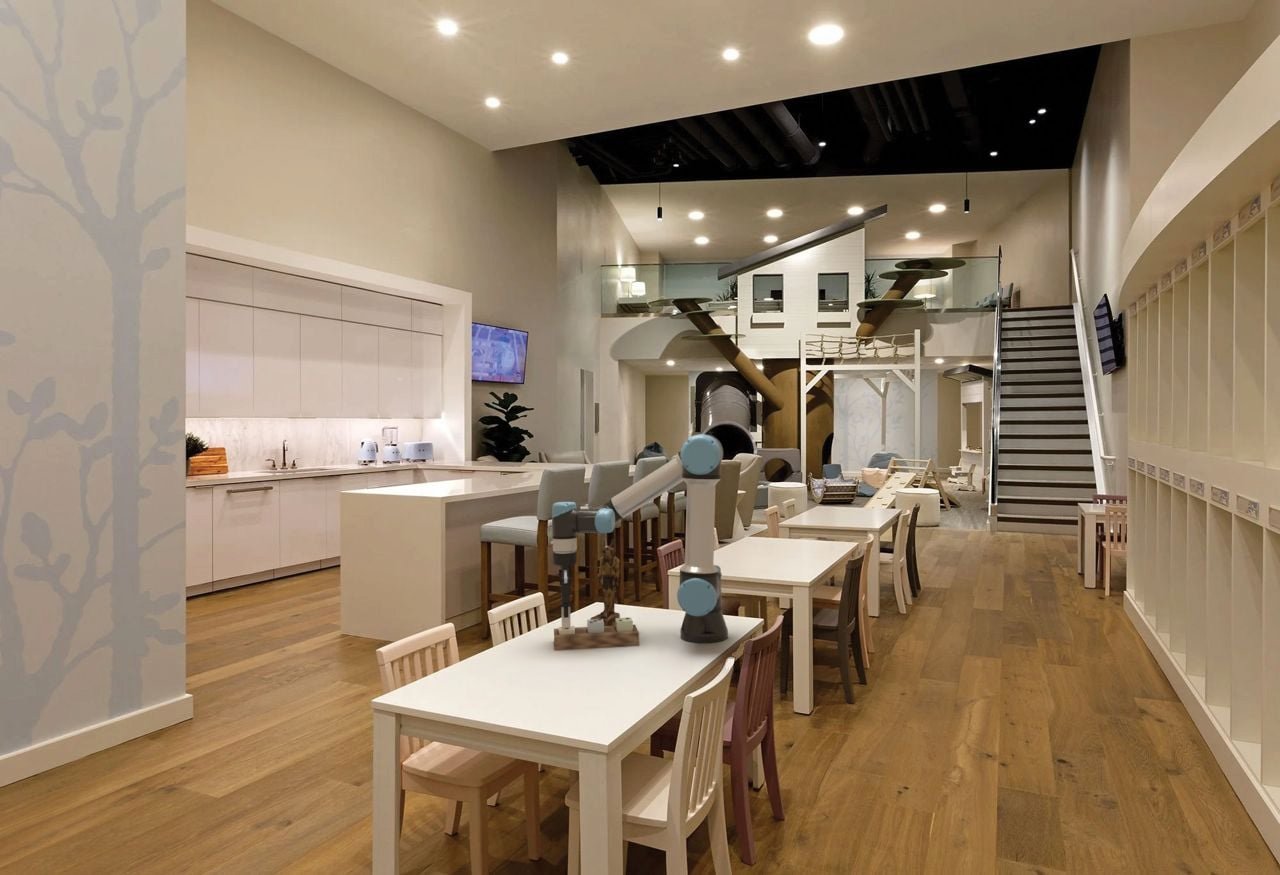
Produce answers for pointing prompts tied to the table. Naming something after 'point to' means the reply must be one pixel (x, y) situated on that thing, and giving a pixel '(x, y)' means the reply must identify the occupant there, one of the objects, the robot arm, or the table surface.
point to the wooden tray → (595, 638)
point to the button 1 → (566, 630)
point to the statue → (608, 583)
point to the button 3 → (595, 626)
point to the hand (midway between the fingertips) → (566, 627)
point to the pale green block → (624, 624)
